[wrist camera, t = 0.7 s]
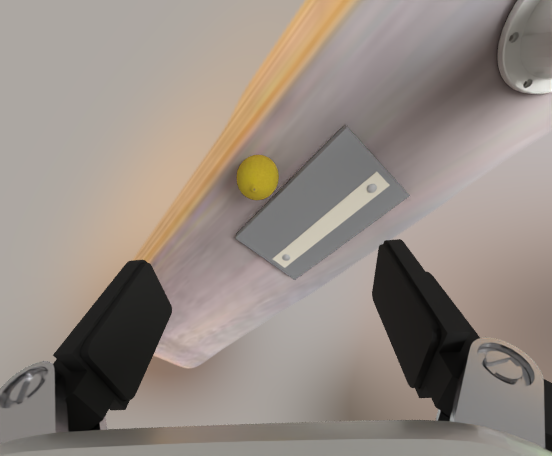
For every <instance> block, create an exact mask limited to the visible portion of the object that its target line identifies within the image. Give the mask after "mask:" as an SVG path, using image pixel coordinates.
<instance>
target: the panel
mask: <svg viewBox="0 0 552 456" xmlns="http://www.w3.org/2000/svg"><path fill="white" fill-rule="evenodd" d="M375 172H378V173H379V174H380V175H381V176H382V177H383V178H384V180H385V181H386V182H387V183H388V184H389V185H390V186H388V187H387V188H386V189H385V190H383V191H382V192H381V193H380V194H378V195H377V196H376V197H374V198H373V199H372V200H371V201H369V202H368V203H367V204H366V205H364V206H363V207H362V208H360V209H359V210H358V211H357V212H355V213H354V214H353V215H352V216H350V217H349V218H348V219H346V220H345V221H344V222H343V223H341V224H340V225H339V226H338V227H336V228H335V229H334V230H332V231H331V232H330V233H329V234H327V235H326V236H325V237H324V238H322V239H321V240H320V241H318V242H317V243H316V244H315V245H313V246H312V247H311V248H310V249H308V250H307V251H306V252H304V253H303V254H302V255H301V256H299V257H298V258H297V259H296V260H294V261H293V262H292V263H290V264H289V265H288V266H287V267H285V268H284V267H283V266H281V265H280V264H278V263H277V262H276V261H274V260H273V258H274V257H275V256H276V255H277V254H279V253H280V252H281V251H282V250H283V249H285V248H286V247H287V246H288V245H289V244H291V243H292V242H293V241H294V240H295V239H297V238H298V237H299V236H300V235H301V234H303V233H304V232H305V231H306V230H307V229H309V228H310V227H311V226H312V225H313V224H314V223H316V222H317V221H318V220H319V219H320V218H322V217H323V216H324V215H325V214H326V213H328V212H329V211H330V210H331V209H332V208H334V207H335V206H336V205H337V204H338V203H340V202H341V201H342V200H343V199H344V198H346V197H347V196H348V195H349V194H350V193H351V192H353V191H354V190H355V189H356V188H357V187H359V186H360V185H361V184H362V183H363V182H365V181H366V180H367V179H368V178H369V177H371V176H372V175H373V174H374V173H375ZM409 196H410V195H409V194H408V193H407V192H406V191H405V190H404V189H403V188H402V186H401V185H400V184H399V183H398V182H397V181H396V180H395V179H394V178H393V176H392V175H391V174H390V173H389V172H388V171H387V170H386V169H385V168H384V167H383V165H382V164H381V163H380V162H379V161H378V160H377V159H376V158H375V157H374V156H373V154H372V153H371V152H370V151H369V150H368V149H367V148H366V147H365V146H364V145H363V143H362V142H361V141H360V140H359V139H358V138H357V137H356V136H355V135H354V134H353V132H352V131H351V130H350V129H349V128H348V127H347V126H346V125H344V126H343V127H342V128H341V129H340V130H339V131H338V132H337V133H336V134H335V135H334V136H333V137H332V138H331V139H330V140H329V141H328V142H327V143H326V144H325V145H324V146H323V147H322V148H321V149H320V150H319V151H318V152H317V153H316V154H315V155H314V156H313V157H312V158H311V159H310V160H309V161H308V162H307V163H306V164H305V165H304V166H303V167H302V168H301V169H300V170H299V171H298V172H297V173H296V174H295V175H294V176H293V177H292V178H291V179H290V180H289V182H288V183H287V184H286V185H285V186H284V187H283V188H282V189H281V190H280V191H279V192H278V193H277V194H276V195H275V196H274V197H273V198H272V199H271V200H270V201H269V202H268V203H267V204H266V205H265V206H264V207H263V208H262V209H261V210H260V211H259V212H258V213H257V214H256V215H255V216H254V217H253V218H252V219H251V220H250V221H249V222H248V223H247V224H246V225H245V226H244V227H243V228H242V229H241V230H240V231H239V232H238V233H237V235H236V239H237V240H238V241H240V242H241V243H243V244H244V245H245V246H247V247H248V248H250V249H251V250H253V251H254V252H255V253H257V254H258V255H260V256H261V257H263V258H264V259H265V260H267V261H268V262H270V263H271V264H273V265H274V266H275V267H277V268H278V269H280V270H281V271H282V272H284V273H285V274H287V275H288V276H290V277H291V278H292V279H294V280H296V279H297V278H298V277H300V276H301V275H302V274H304V273H305V272H307V271H308V270H309V269H311V268H312V267H313V266H315V265H316V264H317V263H319V262H320V261H322V260H323V259H324V258H326V257H327V256H328V255H330V254H331V253H332V252H334V251H335V250H337V249H338V248H339V247H341V246H342V245H343V244H345V243H346V242H347V241H349V240H350V239H352V238H353V237H354V236H356V235H357V234H358V233H360V232H361V231H362V230H364V229H365V228H366V227H368V226H369V225H371V224H372V223H373V222H375V221H376V220H377V219H379V218H380V217H381V216H383V215H384V214H386V213H387V212H388V211H390V210H391V209H392V208H394V207H395V206H396V205H398V204H399V203H401V202H402V201H403V200H405V199H406V198H407V197H409Z"/></svg>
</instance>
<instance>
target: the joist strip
mask: <svg viewBox="0 0 552 456" xmlns="http://www.w3.org/2000/svg"><path fill="white" fill-rule="evenodd" d="M388 186H390V185H389V184H388V183H387V182H386V181H385V180H384V178H383V177H382V176H381V175H380V174H379V173H378V172H375V173H374V174H373V175H372V176H371V177H369V178H368V179H367V180H366V181H365V182H363V183H362V184H361V185H360V186H359V187H357V188H356V189H355V190H354V191H353V192H351V193H350V194H349V195H348V196H347V197H346V198H344V199H343V200H342V201H341V202H340V203H338V204H337V205H336V206H335V207H334V208H332V209H331V210H330V211H329V212H328V213H326V214H325V215H324V216H323V217H322V218H320V219H319V220H318V221H317V222H316V223H314V224H313V225H312V226H311V227H310V228H309V229H307V230H306V231H305V232H304V233H303V234H301V235H300V236H299V237H298V238H297V239H295V240H294V241H293V242H292V243H291V244H289V245H288V246H287V247H286V248H285V249H283V250H282V251H281V252H280V253H279V254H277V255H276V256H275V257H274V258H273V260H274V261H276V262H277V263H278V264H280V265H281V266H283V267H284V268H285V267H287V266H288V265H289V264H290V263H292V262H293V261H294V260H296V259H297V258H298V257H299V256H301V255H302V254H303V253H304V252H306V251H307V250H308V249H310V248H311V247H312V246H313V245H315V244H316V243H317V242H318V241H320V240H321V239H322V238H324V237H325V236H326V235H327V234H329V233H330V232H331V231H332V230H334V229H335V228H336V227H338V226H339V225H340V224H341V223H343V222H344V221H345V220H346V219H348V218H349V217H350V216H352V215H353V214H354V213H355V212H357V211H358V210H359V209H360V208H362V207H363V206H364V205H366V204H367V203H368V202H369V201H371V200H372V199H373V198H374V197H376V196H377V195H378V194H380V193H381V192H382V191H383V190H385V189H386V188H387V187H388Z"/></svg>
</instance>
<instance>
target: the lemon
mask: <svg viewBox="0 0 552 456" xmlns="http://www.w3.org/2000/svg"><path fill="white" fill-rule="evenodd" d="M278 179H279V175H278V170H277V167H276V165H275V164H274V162H273V161H272V160H271V159H269V158H268V157H266V156H263V155H253V156H250V157H248V158H247V159H245V160H244V161H243V162H242V163H241V165H240V166H239V169H238V171H237V185H238V187H239V190H240V191H241V192H242V194H243V195H244V196H246V197H247V198H249V199H252V200H262V199H265V198H267V197H268V196H270V195H271V194H272V193H273V192H274V190H275V189H276V187H277V184H278Z"/></svg>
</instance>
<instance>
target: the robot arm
mask: <svg viewBox="0 0 552 456" xmlns="http://www.w3.org/2000/svg"><path fill="white" fill-rule="evenodd" d="M509 38H510V39H509ZM497 58H498V68H499V71H500V73H501V76H502V78H503V79H504V81H505V82H506V84H507V85H509V86H510V87H511V88H513V89H514V90H517V91H519V92H522V93H529V94H547V93H552V0H517V2H516V3H515V5H514V7H513V9H512V10H511V12H510V14H509V16H508V18H507V20H506V23H505V25H504V27H503V30H502V33H501V37H500V41H499V45H498V55H497ZM372 296H373V301H374V303H375V306H376V308H377V311H378V313H379V315H380V318H381V320H382V323H383V325H384V327H385V330H386V332H387V335H388V337H389V339H390V342H391V344H392V346H393V349H394V351H395V354H396V356H397V358H398V361H399V363H400V366H401V368H402V370H403V373H404V375H405V377H406V380H407V382H408V384H409V386H410V387H411V388H415V389H416V391H417V394H418V396H419V398H432V400H433V402H434V404H435V407H436V408H438V409H439V410H438V413H437V417H436V421H431V420H430V421H429V420H380V421H379V420H377V421H336V422H302V423H269V424H240V425H213V426H185V427H159V428H134V429H109V430H107V424H106V419H105V415H106V413H107V411H108V409H110V410H125V409H126V407H127V405H128V403H129V401H130V400H131V399H132V398H133V397H134V396H135V394H136V392H137V390H138V388H139V385H140V383H141V381H142V379H143V377H144V374H145V372H146V370H147V367H148V365H149V363H150V361H151V359H152V356H153V354H154V352H155V350H156V347H157V345H158V343H159V341H160V338H161V336H162V334H163V332H164V329H165V327H166V325H167V323H168V320H169V318H170V316H171V313H172V307H171V304H170V302H169V300H168V298H167V296H166V294H165V292H164V290H163V288H162V286H161V284H160V282H159V280H158V278H157V276H156V274H155V272H154V270H153V268H152V266H151V264H149V263H147V262H146V261H145V260H136V261H129V262H127V263H126V265H125V266H124V267H123V268H122V270H121V271H120V272H119V273H118V275H117V276H116V277H115V278H114V280H113V281H112V282H111V283H110V285H109V286H108V287H107V288H106V290H105V291H104V292H103V293H102V295H101V296H100V297H99V298H98V300H97V301H96V302H95V303H94V305H93V306H92V307H91V308H90V310H89V311H88V312H87V313H86V315H85V316H84V317H83V318H82V320H81V321H80V322H79V323H78V325H77V326H76V327H75V328H74V330H73V331H72V332H71V333H70V335H69V336H68V337H67V338H66V340H65V341H64V342H63V343H62V345H61V346H60V347H59V348H58V350H57V351H56V352H55V353H54V355H53V356H54V357H56V358H57V360H56V361H55V362H54V364H52V363H50V362H44V361H43V362H39V363H35V364H33V365H31V366H28V367H26V368H25V369H23V370H21V371H20V372H18V373H17V374H15V375H14V376H13V377H12V378H10V379H9V380H8V381H7V382H6V383H5V384H4V385H3V386H2V387H1V388H0V456H552V383H551V382H549V381H547V380H544V379H543V376H542V373H541V371H540V369H539V368H538V366H537V364H536V363H535V362H534V361H533V360H532V359H531V358H530V357H529V356H528V355H527V354H525V353H524V352H523V351H521V350H520V349H519V348H517V347H515V346H513V345H511V344H509V343H507V342H505V341H502V340H499V339H495V338H480V337H479V336H478V335H477V333H476V332H475V330H474V329H473V328H472V327H471V325H470V324H469V323H468V321H467V320H466V319H465V318H464V316H463V315H462V313H461V312H460V311H459V309H458V308H457V307H456V306H455V304H454V303H453V302H452V300H451V299H450V298H449V296H448V295H447V294H446V292H445V291H444V290H443V289H442V287H441V286H440V285H439V283H438V282H437V281H436V279H435V278H434V277H433V276H432V275H431V274H430V273H429V272H425V271H424V269H423V268H422V266H421V265H420V264H419V262H418V261H417V260H416V258H415V257H414V256H413V254H412V253H411V252H410V250H409V249H408V248H407V246H406V245H405V243H404V242H403V241H402V240H400V239H399V240H386V241H384V244H382V245H380V246H379V250H378V257H377V264H376V270H375V277H374V285H373V291H372Z"/></svg>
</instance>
